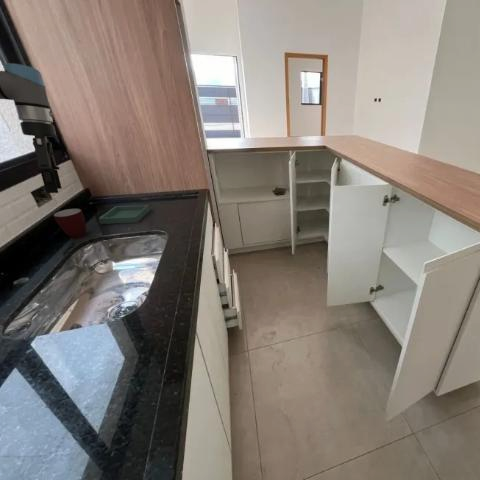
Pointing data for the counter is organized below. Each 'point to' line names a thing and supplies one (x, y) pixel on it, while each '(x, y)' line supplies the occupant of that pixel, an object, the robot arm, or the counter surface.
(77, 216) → the mug
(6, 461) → the counter surface
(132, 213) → the tray
